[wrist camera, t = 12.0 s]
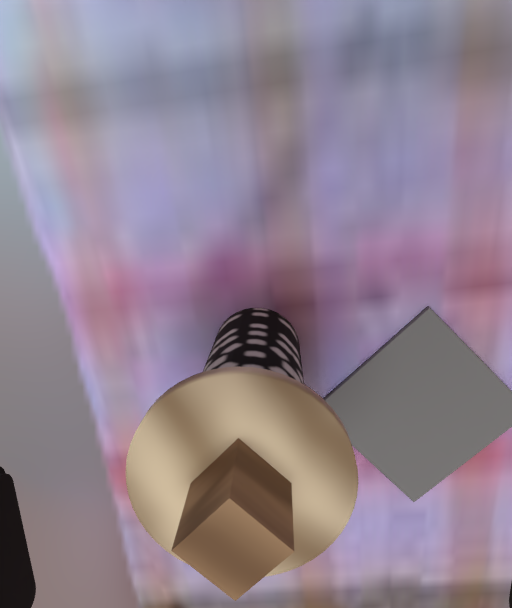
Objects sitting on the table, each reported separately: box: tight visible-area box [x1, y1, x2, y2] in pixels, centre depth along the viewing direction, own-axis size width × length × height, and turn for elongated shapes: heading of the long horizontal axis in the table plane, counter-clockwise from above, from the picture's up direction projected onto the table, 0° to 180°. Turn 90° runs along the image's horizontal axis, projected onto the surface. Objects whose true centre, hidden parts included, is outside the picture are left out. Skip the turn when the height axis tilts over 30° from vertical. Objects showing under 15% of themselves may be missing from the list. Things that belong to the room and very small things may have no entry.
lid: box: [126, 366, 358, 601], centre depth 25 cm, size 13×13×6 cm
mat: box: [324, 307, 512, 502], centre depth 48 cm, size 15×15×1 cm
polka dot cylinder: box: [203, 308, 304, 384], centre depth 37 cm, size 8×8×20 cm
